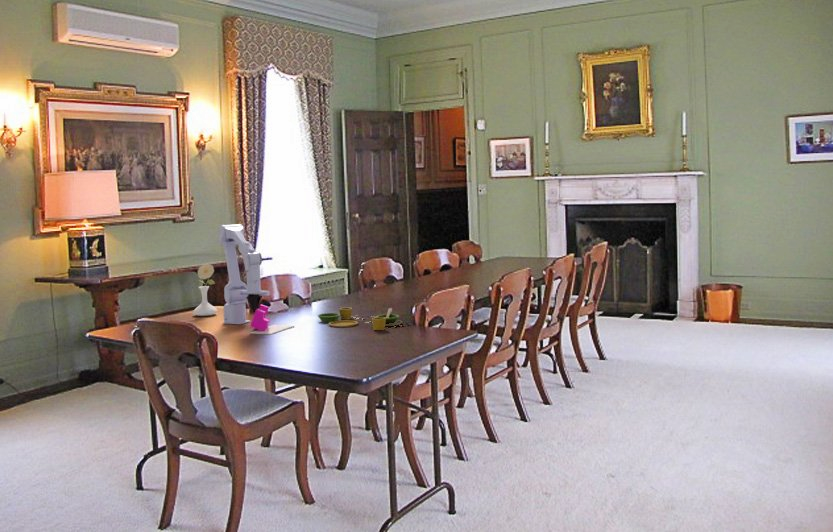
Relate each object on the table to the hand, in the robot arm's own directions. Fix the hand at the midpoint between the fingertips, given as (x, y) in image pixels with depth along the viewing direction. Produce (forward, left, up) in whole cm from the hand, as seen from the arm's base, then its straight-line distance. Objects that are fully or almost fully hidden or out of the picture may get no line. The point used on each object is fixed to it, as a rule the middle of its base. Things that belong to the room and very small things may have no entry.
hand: (255, 312), depth 347 cm
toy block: (+2, 0, -6) cm, 6 cm away
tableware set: (+39, +24, -8) cm, 46 cm away
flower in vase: (-44, +24, -8) cm, 51 cm away
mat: (+8, 0, -7) cm, 11 cm away
